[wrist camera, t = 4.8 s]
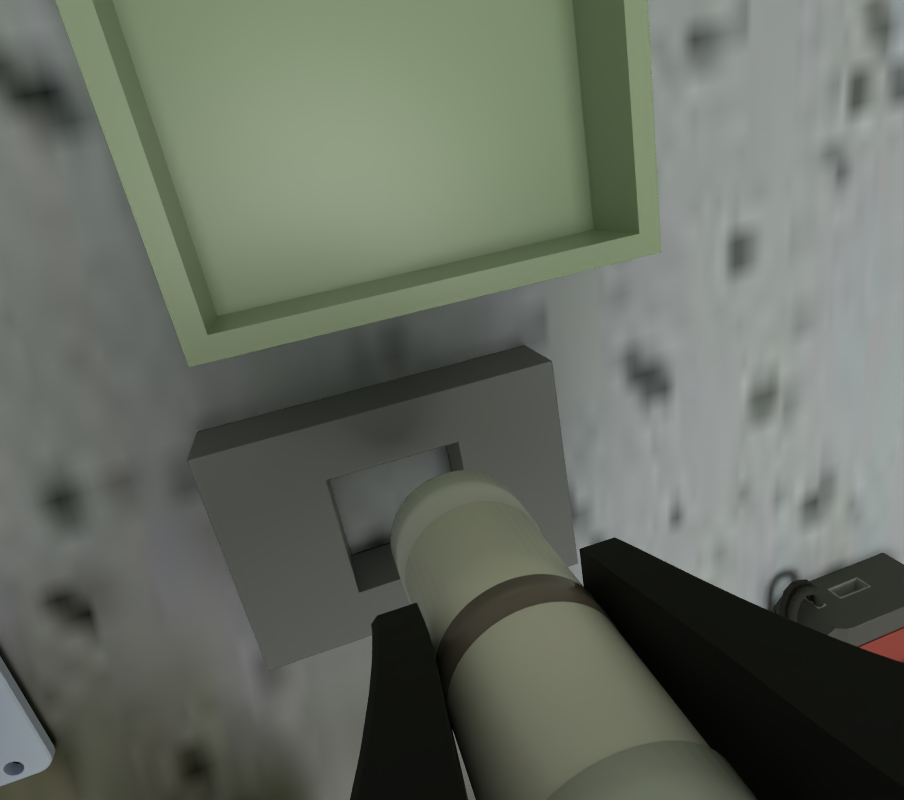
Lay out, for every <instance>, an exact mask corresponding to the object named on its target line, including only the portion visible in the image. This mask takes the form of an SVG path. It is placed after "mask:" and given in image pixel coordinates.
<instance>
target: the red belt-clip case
mask: <svg viewBox="0 0 904 800" xmlns="http://www.w3.org/2000/svg"><path fill="white" fill-rule="evenodd" d="M774 609H775V610H776V613H775V614H778V615H780V616H782V617H784V618H787V619H789V620H792V621H794V622H797V623H799V624H802V625H804V626H806V627H809V628H811V629H814V630H816V631H819V632H821V633H823V634H826V635H828V636H831V637H833V638H836V639H838V640H841V641H843V642H846V643H849V644H851V645H854V646H857V647H859V648H862V649H865V650H867V651H870V652H873V653H876V654H879V655H882V656H885V657H888V658H890V659H893V660H896V661H899V662H902V663H904V565H903V564H902V563H900V562H898V561H896V560H895V559H893V558H891V557H889V556H888V555H886V554H884V553H881V554H879V555H876V556H874V557H871V558H869V559H866V560H863V561H861V562H858V563H856V564H853V565H851V566H848V567H845V568H843V569H840V570H838V571H835V572H833V573H830V574H828V575H825V576H822V577H820V578H817V579H815V580H812V581H808V580H798V581H794V582H792V583H791V584H790V585H789V586H788V587H787V588H786V589H785V591H784V593H783V596H782V597H781V598H780V600H779V601H778V603H777V604H776V605H775V607H774Z"/></svg>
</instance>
